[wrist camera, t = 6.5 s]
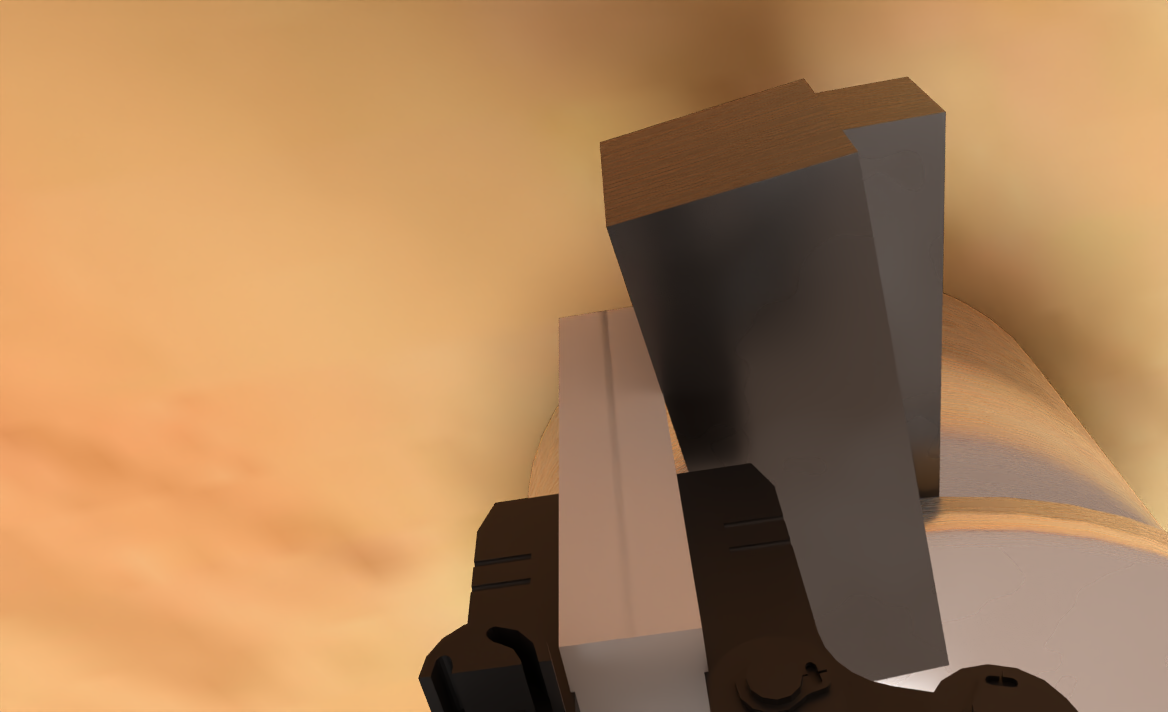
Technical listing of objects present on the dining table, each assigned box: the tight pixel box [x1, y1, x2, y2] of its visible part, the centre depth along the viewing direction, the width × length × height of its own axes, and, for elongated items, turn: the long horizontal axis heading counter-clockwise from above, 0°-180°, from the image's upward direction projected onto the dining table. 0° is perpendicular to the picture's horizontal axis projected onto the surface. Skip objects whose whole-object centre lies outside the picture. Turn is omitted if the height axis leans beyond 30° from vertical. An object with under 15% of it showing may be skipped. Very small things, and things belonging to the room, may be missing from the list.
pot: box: [528, 77, 1164, 531], centre depth 27 cm, size 28×18×11 cm, turn 10°
